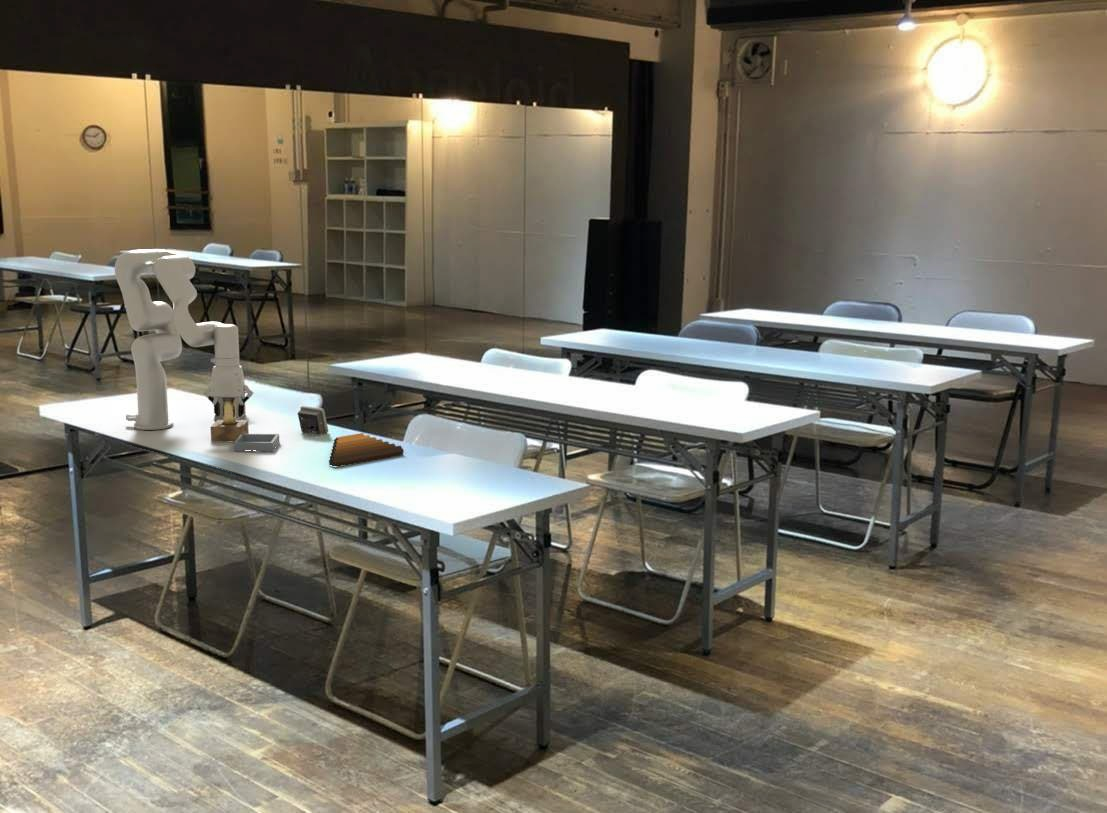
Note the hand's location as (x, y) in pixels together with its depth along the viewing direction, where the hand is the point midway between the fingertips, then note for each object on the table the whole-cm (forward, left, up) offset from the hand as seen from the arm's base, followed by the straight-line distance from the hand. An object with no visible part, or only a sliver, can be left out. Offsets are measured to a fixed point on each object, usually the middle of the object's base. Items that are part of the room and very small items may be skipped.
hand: (229, 415), depth 340 cm
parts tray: (+11, -12, -8) cm, 18 cm away
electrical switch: (+26, +8, -8) cm, 28 cm away
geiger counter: (-5, +24, -8) cm, 26 cm away
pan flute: (+41, -19, -8) cm, 46 cm away
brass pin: (0, 0, -8) cm, 8 cm away
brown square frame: (0, 0, -8) cm, 8 cm away
